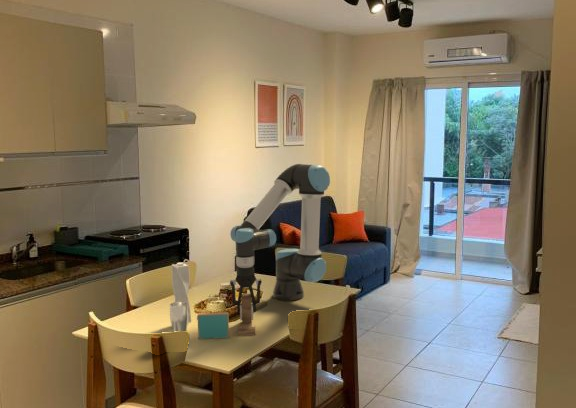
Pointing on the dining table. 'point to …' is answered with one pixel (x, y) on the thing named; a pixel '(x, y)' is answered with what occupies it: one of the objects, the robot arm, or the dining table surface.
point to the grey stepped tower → (246, 317)
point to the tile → (213, 325)
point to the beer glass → (179, 316)
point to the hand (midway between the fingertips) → (246, 319)
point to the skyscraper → (181, 284)
